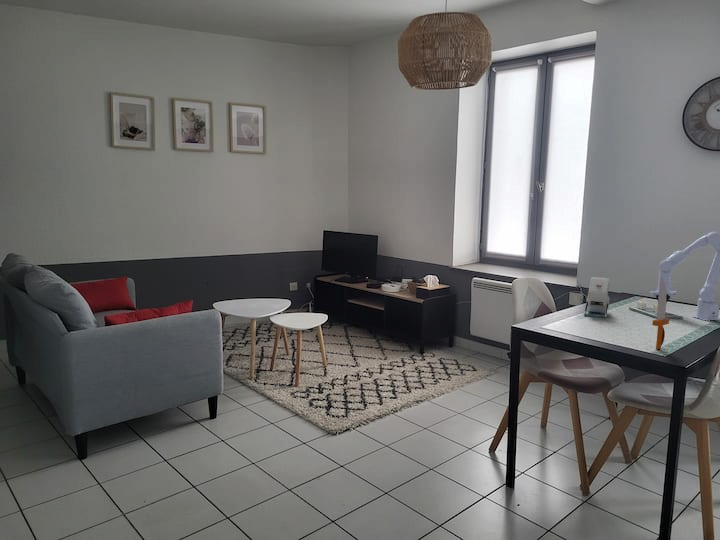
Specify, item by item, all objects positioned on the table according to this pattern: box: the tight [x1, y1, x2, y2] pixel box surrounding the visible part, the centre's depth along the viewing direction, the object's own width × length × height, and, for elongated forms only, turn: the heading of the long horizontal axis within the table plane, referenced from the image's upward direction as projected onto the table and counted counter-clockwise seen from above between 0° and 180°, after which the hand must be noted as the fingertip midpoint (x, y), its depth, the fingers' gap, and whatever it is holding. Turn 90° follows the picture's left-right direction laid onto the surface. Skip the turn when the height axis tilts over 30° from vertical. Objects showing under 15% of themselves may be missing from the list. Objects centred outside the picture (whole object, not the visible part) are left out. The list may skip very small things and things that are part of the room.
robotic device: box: [583, 276, 610, 319], centre depth 288 cm, size 10×21×20 cm
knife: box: [651, 277, 670, 350], centre depth 223 cm, size 8×2×30 cm, turn 126°
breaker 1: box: [636, 300, 647, 309], centre depth 298 cm, size 4×2×4 cm
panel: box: [628, 306, 684, 320], centre depth 292 cm, size 23×14×1 cm, turn 9°
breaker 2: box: [652, 303, 658, 311], centre depth 292 cm, size 4×2×4 cm
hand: (661, 308), depth 292 cm, fingers closed
